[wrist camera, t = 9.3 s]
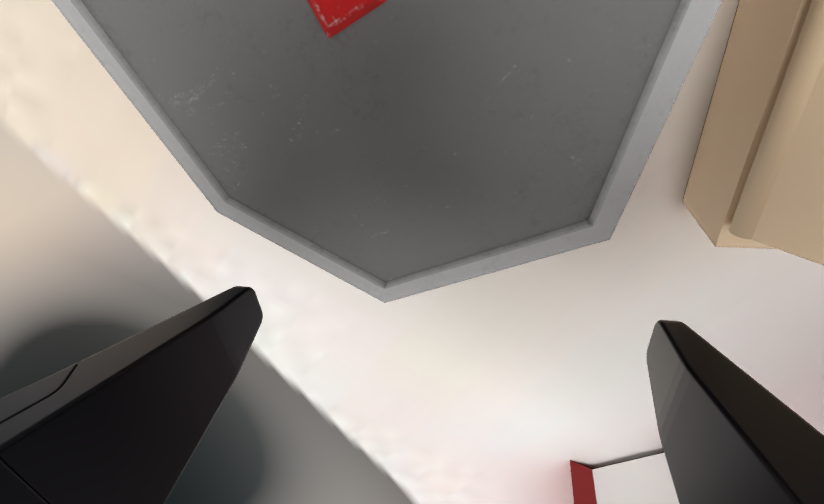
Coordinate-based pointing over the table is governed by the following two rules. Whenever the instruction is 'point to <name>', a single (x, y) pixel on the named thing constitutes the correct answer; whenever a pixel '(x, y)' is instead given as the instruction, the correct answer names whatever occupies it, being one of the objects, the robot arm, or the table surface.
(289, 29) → the first aid kit
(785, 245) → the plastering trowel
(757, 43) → the carton
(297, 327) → the table surface
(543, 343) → the table surface
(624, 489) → the book
